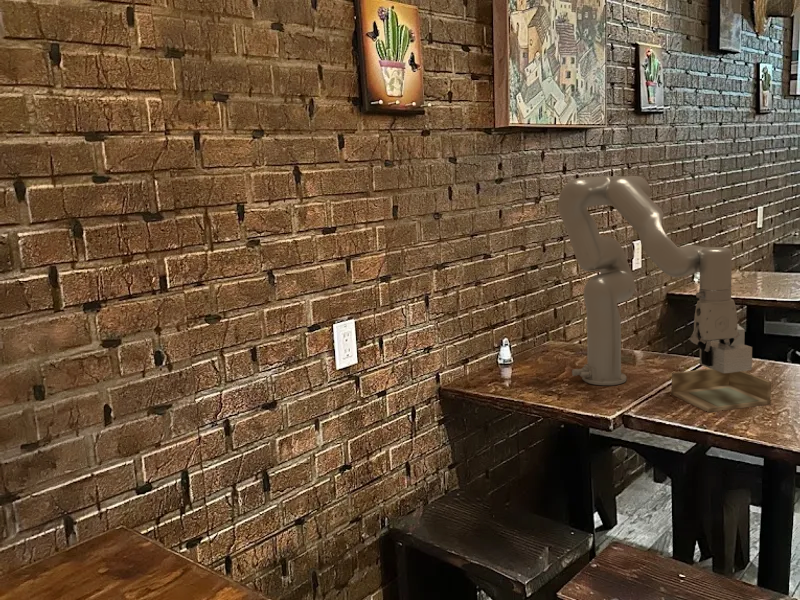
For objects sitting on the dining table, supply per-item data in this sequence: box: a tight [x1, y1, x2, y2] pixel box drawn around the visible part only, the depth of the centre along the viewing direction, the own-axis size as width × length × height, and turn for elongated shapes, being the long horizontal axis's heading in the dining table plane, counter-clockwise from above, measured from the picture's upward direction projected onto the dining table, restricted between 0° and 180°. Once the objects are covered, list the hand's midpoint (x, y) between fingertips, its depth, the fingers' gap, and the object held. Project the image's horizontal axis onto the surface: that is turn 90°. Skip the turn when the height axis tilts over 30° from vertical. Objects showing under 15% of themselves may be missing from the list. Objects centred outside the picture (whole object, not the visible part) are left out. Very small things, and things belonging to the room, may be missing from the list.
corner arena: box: [671, 368, 772, 413], centre depth 189 cm, size 18×16×6 cm
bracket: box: [699, 341, 753, 373], centre depth 185 cm, size 10×8×6 cm
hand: (714, 363), depth 187 cm, fingers closed on bracket, 4 cm apart
